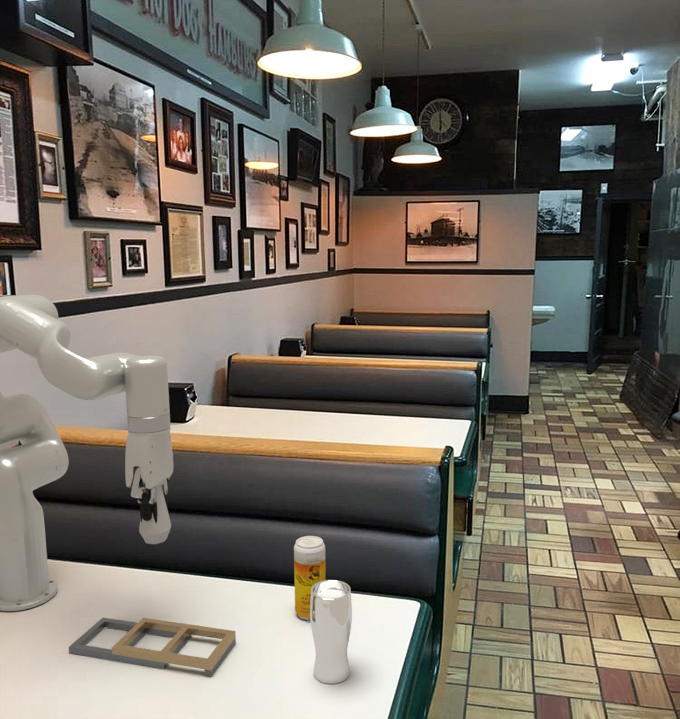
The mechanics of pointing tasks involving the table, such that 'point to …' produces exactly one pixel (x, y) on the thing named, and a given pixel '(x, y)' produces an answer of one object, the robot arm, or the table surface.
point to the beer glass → (331, 629)
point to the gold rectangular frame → (167, 652)
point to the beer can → (307, 571)
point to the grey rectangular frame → (103, 653)
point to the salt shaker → (161, 529)
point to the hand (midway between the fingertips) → (154, 518)
